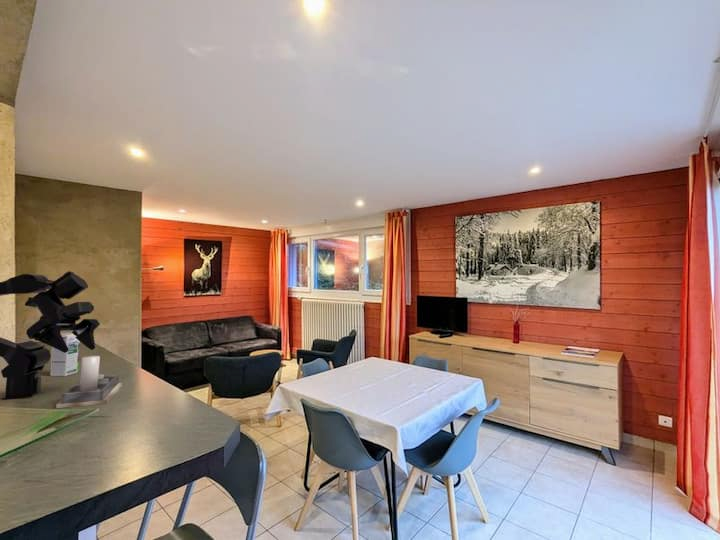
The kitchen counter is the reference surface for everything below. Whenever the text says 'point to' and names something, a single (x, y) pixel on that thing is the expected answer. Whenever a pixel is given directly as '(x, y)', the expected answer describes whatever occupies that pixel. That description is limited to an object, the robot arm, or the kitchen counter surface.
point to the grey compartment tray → (91, 393)
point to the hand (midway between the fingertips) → (80, 350)
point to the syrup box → (66, 357)
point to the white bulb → (89, 374)
